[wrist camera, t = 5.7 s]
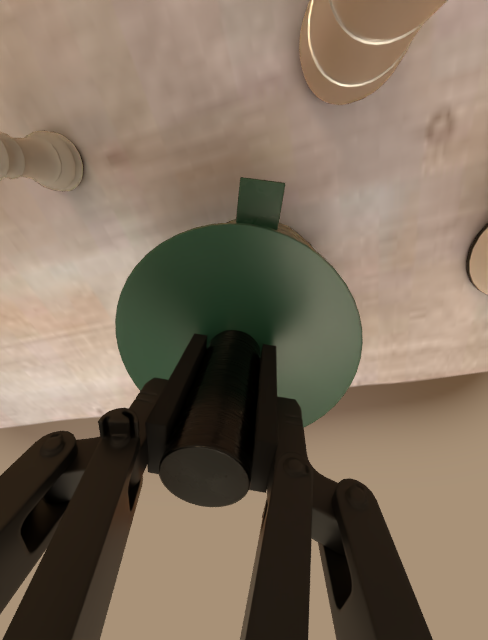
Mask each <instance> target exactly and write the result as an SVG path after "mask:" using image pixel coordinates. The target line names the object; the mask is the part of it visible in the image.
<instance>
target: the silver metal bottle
mask: <svg viewBox="0 0 488 640" xmlns="http://www.w3.org/2000/svg"><path fill="white" fill-rule="evenodd" d="M446 1H447V0H310V1H309V4H308V7H307V9H306V12H305V15H304V18H303V21H302V27H301V32H300V42H299V53H300V62H301V66H302V70H303V74H304V77H305V80H306V82H307V84H308V86H309V88H310V89H311V91H312V92H313V93H314V94H315V95H316V96H317V97H318V98H320V99H321V100H322V101H325V102H327V103H329V104H335V105H343V104H349V103H352V102H355V101H358V100H361V99H363V98H365V97H367V96H369V95H370V94H372V93H374V92H375V91H376V90H377V89H378V88H380V87H381V86H382V85H383V84H384V83H385V82H386V81H387V80H388V78H389V77H390V76H391V75H392V74H393V72H394V71H395V69H396V68H397V66H398V65H399V63H400V61H401V60H402V58H403V57H404V55H405V54H406V52H407V50H408V48H409V46H410V44H411V42H412V40H413V38H414V37H415V35H416V34H417V32H418V31H419V30H420V28H421V27H422V25H423V24H424V23H425V22H426V21H427V20H428V19H429V18H430V17H431V16H432V15H433V14H434V13H435V12H436V11H437V10H438V9H439V8H440V7H441V6H442V5H443V4H444V3H445V2H446Z"/></svg>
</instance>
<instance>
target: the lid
mask: <svg viewBox="0 0 488 640" xmlns="http://www.w3.org/2000/svg"><path fill="white" fill-rule="evenodd" d="M115 323H116V338H117V344H118V349H119V352H120V355H121V358H122V361H123V363H124V365H125V367H126V370H127V372H128V374H129V375H130V377H131V378H132V380H133V382H134V383H135V385H136V386H137V387H138V388H139V390H140V391H141V390H142V388H143V386H144V385H145V384H146V383H147V382H148V381H150V380H151V379H153V378H154V377H155V378H161V379H168V380H169V378H170V376H171V374H172V373H173V371H174V369H175V367H176V365H177V363H178V362H179V360H180V358H181V356H182V354H183V353H184V351H185V349H186V347H187V345H188V344H189V342H190V340H191V338H192V336H193V335H194V333H195V334H202V335H207V347H206V353H205V355H204V358H203V360H202V362H201V365H200V367H199V370H198V372H197V374H196V377H195V379H194V381H193V384H192V386H191V389H190V391H189V393H188V396H187V398H186V401H185V403H184V405H183V408H182V410H181V413H180V415H179V417H178V420H177V422H176V425H175V427H174V429H173V432H172V434H171V437H170V439H169V441H168V444H167V446H166V448H165V451H164V453H163V456H162V458H161V460H160V463H159V476H160V479H161V481H162V483H163V484H164V486H165V487H166V488H167V489H168V490H169V491H170V492H171V493H172V494H174V495H175V496H177V497H178V498H180V499H182V500H184V501H186V502H189V503H192V504H195V505H199V506H205V507H222V506H227V505H231V504H234V503H236V502H238V501H239V500H241V499H242V498H243V497H244V496H245V495H246V494H247V492H248V490H249V488H250V484H251V473H252V457H253V444H254V432H255V419H256V406H257V394H258V381H259V369H260V358H261V353H262V347H263V344H267V345H273V346H276V352H277V396H278V397H284V398H290V399H296V401H297V402H298V404H299V406H300V407H301V412H302V420H303V428H304V427H306V426H308V425H309V424H311V423H313V422H315V421H316V420H318V419H319V418H321V417H322V416H324V415H325V414H326V413H327V412H328V411H329V410H330V409H332V408H333V407H334V406H335V405H336V404H337V403H338V401H339V400H340V399H341V398H342V397H343V396H344V394H345V393H346V391H347V389H348V388H349V386H350V385H351V383H352V381H353V379H354V376H355V374H356V372H357V369H358V365H359V362H360V358H361V351H362V326H361V321H360V316H359V312H358V309H357V306H356V303H355V301H354V298H353V296H352V294H351V292H350V291H349V289H348V287H347V285H346V283H345V282H344V281H343V279H342V278H341V277H340V275H339V274H338V273H337V272H336V270H335V269H334V268H333V266H332V265H331V264H330V263H329V262H327V261H326V260H325V259H324V258H323V257H322V256H321V255H320V254H319V253H318V252H316V251H315V250H314V249H312V248H311V247H309V246H308V245H307V244H305V243H304V242H302V241H300V240H298V239H296V238H294V237H292V236H290V235H288V234H286V233H283V232H280V231H277V230H275V229H272V228H269V227H264V226H259V225H254V224H247V223H218V224H210V225H205V226H201V227H196V228H193V229H190V230H188V231H185V232H182V233H180V234H177V235H175V236H173V237H172V238H170V239H168V240H166V241H164V242H163V243H161V244H159V245H158V246H157V247H155V248H154V249H153V250H152V251H150V252H149V253H148V254H147V255H146V256H145V257H144V258H143V259H142V260H141V261H140V262H139V263H138V264H137V265H136V267H135V268H134V270H133V271H132V273H131V274H130V276H129V277H128V278H127V281H126V283H125V285H124V287H123V289H122V291H121V294H120V298H119V301H118V305H117V312H116V320H115Z"/></svg>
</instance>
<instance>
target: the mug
mask: <svg viewBox="0 0 488 640" xmlns="http://www.w3.org/2000/svg"><path fill="white" fill-rule="evenodd" d="M467 272H468V275H469V278H470V280H471V282H472V283H473V285H474V286H475V287H476V288H477V289H478V290H480V291H481V292H483V293H485V294H487V295H488V224H487V225H486V226H485V227H484V228H483V229H482V230H481V232H480V233H479V234H478V235H477V237H476V238H475V240H474V242H473V244H472V246H471V247H470V251H469V254H468V258H467Z"/></svg>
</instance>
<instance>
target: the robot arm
mask: <svg viewBox="0 0 488 640" xmlns="http://www.w3.org/2000/svg"><path fill="white" fill-rule="evenodd" d="M206 347H207V335H202V334H195V333H194V335H193V336H192V338H191V340H190V342H189V344H188V345H187V347H186V349H185V351H184V353H183V354H182V356H181V358H180V360H179V362H178V363H177V365H176V367H175V369H174V371H173V373H172V374H171V376H170V378H169V380H168V379H161V378H155V377H154V378H153V379H151V380H150V381H148V382H147V383H146V384H145V385H144V386H143V388H142V390H141V391H140V393H139V394H138V396H137V397H136V400H134V402H133V403H132V405H131V406H130V408H129V409H127V408H118V409H114V410H111V411H109V412H107V413H106V414H104V415H103V416H102V417H101V418H100V420H99V421H98V423H99V430H100V437H96V438H89V439H81V440H76V439H75V437H74V435H73V434H72V433H70V432H68V431H58V432H53V433H50V434H48V435H46V436H43V437H42V438H41V439H39V440H38V441H37V442H35V443H34V444H33V445H32V446H31V447H30V448H29V449H28V450H27V451H26V452H25V453H24V454H23V455H22V456H21V457H20V458H19V459H17V461H15V462H14V463H13V464H12V465H11V466H10V467H9V468H8V469H7V470H6V471H5V472H4V473H3V474H2V475H1V476H0V614H1V612H2V611H3V609H4V608H5V607H6V605H7V604H8V602H9V601H10V600H11V598H12V597H13V595H14V594H15V593H16V591H17V590H18V588H19V587H20V585H21V584H22V583H23V581H24V580H25V578H26V577H27V575H28V574H29V573H30V571H31V570H32V568H33V567H34V566H35V564H36V563H37V561H38V560H39V559H40V557H41V556H42V554H43V553H44V551H45V550H46V552H45V554H44V556H43V558H42V560H41V562H40V564H39V566H38V568H37V570H36V572H35V574H34V576H33V578H32V580H31V582H30V584H29V586H28V589H27V590H26V592H25V595H24V597H23V599H22V601H21V603H20V605H19V607H18V609H17V611H16V613H15V615H14V617H13V619H12V621H11V623H10V625H9V627H8V630H7V631H6V633H5V636H4V638H3V640H100V636H101V633H102V629H103V626H104V622H105V618H106V615H107V611H108V607H109V604H110V600H111V597H112V593H113V589H114V586H115V582H116V578H117V575H118V571H119V567H120V564H121V560H122V556H123V552H124V549H125V546H126V542H127V538H128V535H129V531H130V527H131V524H132V520H133V516H134V513H135V509H136V505H137V502H138V498H139V494H140V491H141V487H142V481H143V476H142V475H143V473H144V470H145V468H146V466H147V464H148V472H150V473H156V474H159V463H160V460H161V458H162V456H163V453H164V451H165V448H166V446H167V444H168V441H169V439H170V437H171V434H172V432H173V429H174V427H175V425H176V422H177V420H178V417H179V415H180V413H181V410H182V408H183V405H184V403H185V401H186V398H187V396H188V393H189V391H190V389H191V386H192V384H193V381H194V379H195V377H196V374H197V372H198V370H199V367H200V365H201V362H202V360H203V358H204V355H205V353H206ZM249 490H253V491H259V492H265V493H266V490H267V500H266V504H265V508H264V512H263V515H262V518H263V519H262V524H261V530H260V535H259V541H258V546H257V551H256V557H255V563H254V567H253V573H252V578H251V584H250V589H249V595H248V600H247V605H246V610H245V616H244V621H243V626H242V632H241V638H240V640H308V623H309V594H310V562H311V538H312V539H314V540H315V541H317V542H318V545H319V550H320V556H321V561H322V566H323V571H324V576H325V582H326V587H327V592H328V597H329V603H330V607H331V613H332V618H333V624H334V629H335V634H336V639H337V640H433V639H432V636H431V634H430V632H429V629H428V627H427V624H426V622H425V619H424V617H423V614H422V612H421V609H420V607H419V605H418V602H417V599H416V597H415V594H414V592H413V589H412V587H411V585H410V582H409V579H408V577H407V574H406V572H405V569H404V567H403V565H402V562H401V560H400V557H399V555H398V552H397V550H396V547H395V545H394V542H393V540H392V537H391V535H390V532H389V530H388V527H387V525H386V523H385V520H384V517H383V515H382V513H381V510H380V508H379V505H378V503H377V500H376V499H375V497H374V495H373V493H372V492H371V491H370V490H369V489H368V488H367V487H366V486H365V485H364V484H362V483H361V482H359V481H357V480H353V479H343V480H341V481H340V482H339V483H337V482H335V481H333V480H330V479H328V478H326V477H324V476H323V475H321V474H319V473H318V472H317V471H316V470H315V469H314V468H313V467H312V465H311V464H310V462H309V460H308V457H307V452H306V444H305V436H304V428H303V420H302V412H301V407H300V406H299V404H298V402H297V401H296V399H290V398H284V397H278V396H277V352H276V346H273V345H267V344H263V347H262V353H261V358H260V369H259V381H258V394H257V406H256V419H255V432H254V444H253V457H252V473H251V484H250V488H249Z"/></svg>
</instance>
